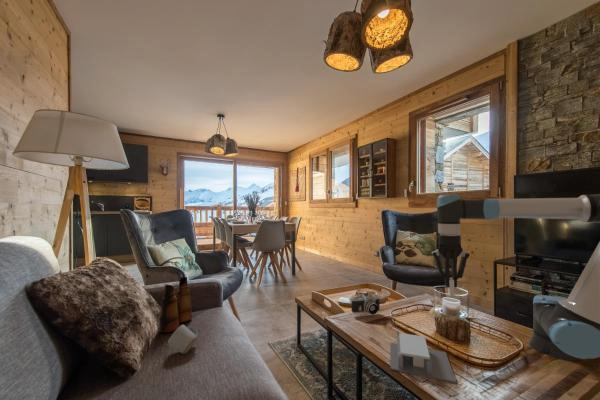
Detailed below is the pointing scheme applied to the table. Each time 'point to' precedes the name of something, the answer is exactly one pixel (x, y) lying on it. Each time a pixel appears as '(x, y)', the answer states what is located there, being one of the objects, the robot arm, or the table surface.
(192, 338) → the ceramic mug
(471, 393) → the table surface
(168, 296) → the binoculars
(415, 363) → the pale wooden block
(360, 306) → the camera
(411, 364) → the grey open box
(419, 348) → the cover
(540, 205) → the robot arm
